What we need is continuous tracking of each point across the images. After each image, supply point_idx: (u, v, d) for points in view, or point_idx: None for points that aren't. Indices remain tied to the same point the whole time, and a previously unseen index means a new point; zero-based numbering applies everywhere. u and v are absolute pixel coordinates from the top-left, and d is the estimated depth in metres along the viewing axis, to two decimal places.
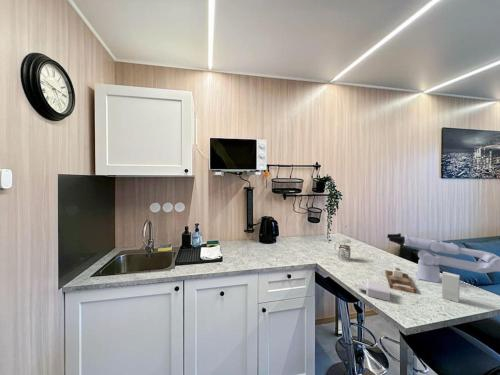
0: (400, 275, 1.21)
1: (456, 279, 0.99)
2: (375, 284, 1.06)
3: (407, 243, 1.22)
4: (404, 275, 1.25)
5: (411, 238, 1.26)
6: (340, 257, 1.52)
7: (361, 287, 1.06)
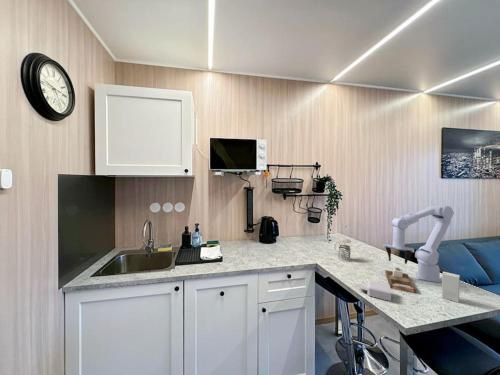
0: (400, 275, 1.21)
1: (456, 279, 0.99)
2: (377, 284, 1.06)
3: None
4: (404, 275, 1.25)
5: (402, 244, 1.21)
6: (340, 257, 1.52)
7: (362, 287, 1.06)
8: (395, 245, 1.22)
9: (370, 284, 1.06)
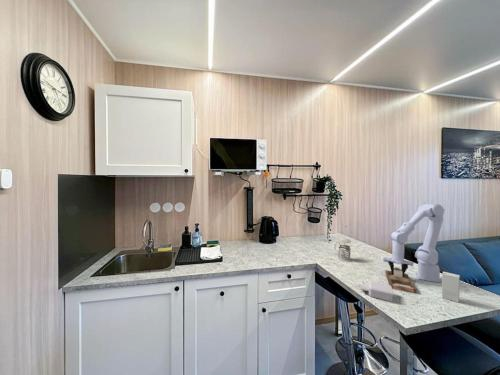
0: (400, 275, 1.21)
1: (456, 279, 0.99)
2: (378, 284, 1.06)
3: None
4: (404, 275, 1.25)
5: (402, 258, 1.21)
6: (340, 257, 1.52)
7: (363, 288, 1.06)
8: (394, 259, 1.22)
9: (371, 284, 1.05)
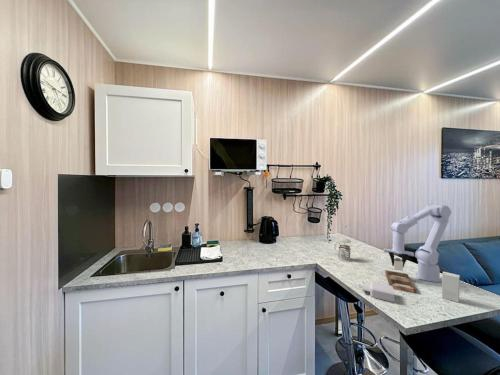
0: (400, 265, 1.21)
1: (456, 279, 0.99)
2: (379, 285, 1.05)
3: None
4: (404, 275, 1.25)
5: (402, 248, 1.21)
6: (340, 257, 1.52)
7: (365, 288, 1.05)
8: (395, 249, 1.22)
9: (373, 285, 1.05)
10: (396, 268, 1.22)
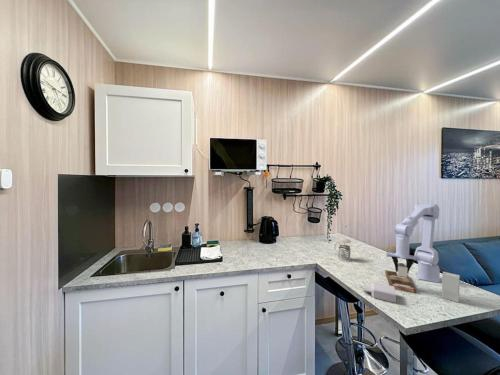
0: (405, 271, 1.10)
1: (456, 279, 0.99)
2: (380, 285, 1.05)
3: None
4: None
5: (407, 252, 1.10)
6: (340, 257, 1.52)
7: (366, 289, 1.05)
8: (399, 254, 1.12)
9: (374, 285, 1.04)
10: (400, 274, 1.11)
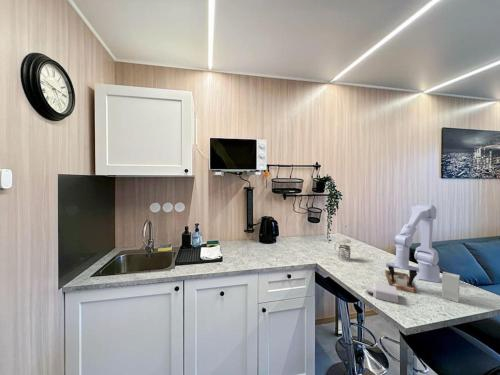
0: (404, 284, 1.11)
1: (456, 279, 0.99)
2: (382, 286, 1.04)
3: None
4: (404, 275, 1.25)
5: (406, 263, 1.10)
6: (340, 257, 1.52)
7: (368, 289, 1.04)
8: (398, 264, 1.12)
9: (376, 286, 1.04)
10: None
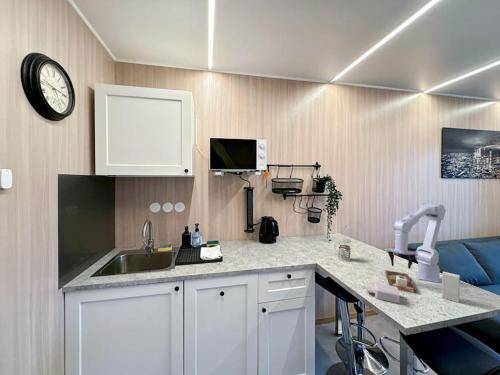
0: (404, 284, 1.11)
1: (456, 279, 0.99)
2: (384, 286, 1.04)
3: None
4: (404, 275, 1.25)
5: (406, 248, 1.16)
6: (340, 257, 1.52)
7: (370, 290, 1.04)
8: (398, 249, 1.17)
9: (377, 286, 1.04)
10: None
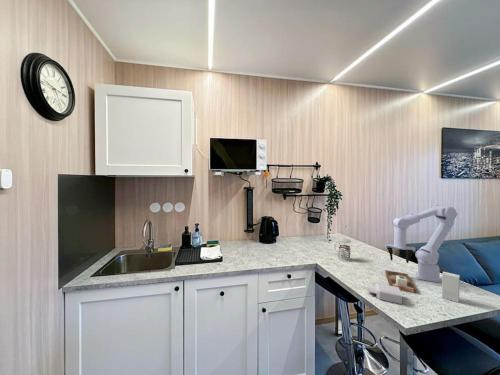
0: (404, 284, 1.11)
1: (456, 279, 0.99)
2: (385, 286, 1.04)
3: None
4: (404, 275, 1.25)
5: (404, 243, 1.22)
6: (340, 257, 1.52)
7: (371, 290, 1.04)
8: (396, 245, 1.24)
9: (379, 287, 1.03)
10: None
